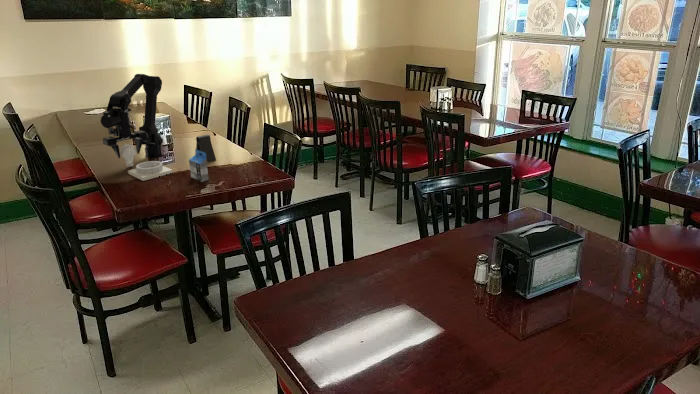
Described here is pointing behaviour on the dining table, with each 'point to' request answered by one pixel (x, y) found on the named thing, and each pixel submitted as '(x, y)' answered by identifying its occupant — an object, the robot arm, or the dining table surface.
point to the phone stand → (205, 147)
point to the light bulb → (128, 154)
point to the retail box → (199, 166)
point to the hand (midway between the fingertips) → (128, 155)
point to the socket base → (149, 176)
